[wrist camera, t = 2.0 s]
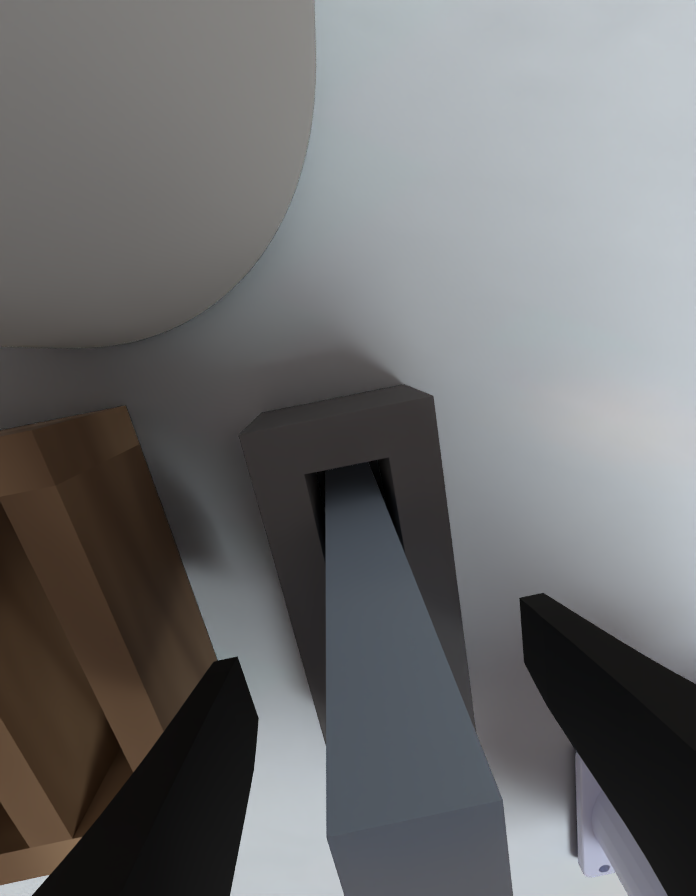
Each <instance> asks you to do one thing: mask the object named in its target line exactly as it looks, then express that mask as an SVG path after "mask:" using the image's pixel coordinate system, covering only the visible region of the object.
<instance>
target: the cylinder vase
mask: <svg viewBox="0 0 696 896" xmlns="http://www.w3.org/2000/svg"><path fill="white" fill-rule="evenodd" d="M315 84H316V37H315V3H314V0H0V347H30V348H96V347H106V346H114V345H120V344H125V343H130V342H134V341H138V340H142V339H145V338H149V337H152V336H155V335H158V334H161V333H163V332H166V331H168V330H171V329H173V328H175V327H177V326H179V325H181V324H183V323H185V322H187V321H189V320H191V319H193V318H194V317H196V316H198V315H199V314H201V313H202V312H204V311H205V310H207V309H208V308H210V307H211V306H212V305H214V304H215V303H216V302H218V301H219V300H220V299H221V298H223V297H224V296H225V295H226V294H227V293H228V292H229V291H231V290H232V289H233V288H234V287H235V286H236V285H237V284H238V283H239V282H240V281H241V280H242V279H243V278H244V276H245V275H246V274H247V273H248V272H249V271H250V270H251V268H252V267H253V266H254V265H255V263H256V262H257V261H258V259H259V258H260V257H261V255H262V254H263V253H264V251H265V250H266V248H267V247H268V245H269V243H270V242H271V240H272V239H273V237H274V235H275V233H276V232H277V230H278V228H279V226H280V224H281V222H282V220H283V218H284V216H285V214H286V212H287V210H288V207H289V205H290V203H291V200H292V198H293V195H294V193H295V190H296V187H297V184H298V181H299V178H300V175H301V171H302V168H303V164H304V160H305V156H306V152H307V147H308V143H309V137H310V132H311V125H312V118H313V110H314V100H315Z"/></svg>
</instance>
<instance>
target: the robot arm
mask: <svg viewBox="0 0 696 896" xmlns="http://www.w3.org/2000/svg"><path fill="white" fill-rule="evenodd" d="M519 599H520V612H521V626H522V640H523V653H524V663H525V665H526V667H527V669H528V671H529V673H530V675H531V677H532V679H533V680H534V682H535V684H536V686H537V688H538V690H539V692H540V694H541V696H542V697H543V699H544V701H545V703H546V705H547V707H548V708H549V710H550V711H551V713H552V714H553V716H554V718H555V719H556V721H557V722H558V724H559V725H560V727H561V728H562V730H563V731H564V733H565V734H566V736H567V737H568V739H569V740H570V742H571V744H572V745H573V747H574V748H575V750H576V755H575V766H576V801H577V836H578V863H579V866H580V868H581V870H582V872H583V874H584V875H585V876H587V877H597V876H601V875H606V874H610V873H615V872H616V874H617V876H618V878H619V880H620V881H621V883H622V885H623V887H624V889H625V890H626V892H627V894H628V896H696V684H694V683H693V682H691V681H689V680H687V679H685V678H684V677H682V676H680V675H678V674H676V673H674V672H673V671H671V670H669V669H667V668H665V667H664V666H662V665H660V664H659V663H657V662H655V661H653V660H652V659H650V658H648V657H646V656H645V655H643V654H641V653H640V652H638V651H636V650H634V649H633V648H631V647H629V646H628V645H626V644H624V643H623V642H621V641H619V640H618V639H616V638H615V637H613V636H611V635H610V634H608V633H606V632H605V631H603V630H602V629H600V628H598V627H597V626H595V625H594V624H592V623H590V622H589V621H587V620H586V619H584V618H582V617H581V616H579V615H578V614H576V613H574V612H573V611H571V610H570V609H568V608H567V607H565V606H563V605H562V604H560V603H559V602H557V601H555V600H554V599H552V598H551V597H549V596H547V595H546V594H544V593H541V594H536V595H531V596H526V597H522V598H519ZM258 719H259V718H258V715H257V712H256V709H255V706H254V704H253V701H252V698H251V695H250V692H249V689H248V686H247V683H246V680H245V677H244V674H243V671H242V668H241V665H240V662H239V659H238V657H233V658H228V659H224V660H219V661H214V662H213V663H212V664H211V666H210V667H209V669H208V670H207V671H206V673H205V674H204V676H203V677H202V678H201V680H200V681H199V683H198V684H197V685H196V687H195V688H194V690H193V691H192V692H191V694H190V695H189V697H188V698H187V700H186V701H185V702H184V704H183V705H182V707H181V708H180V709H179V711H178V712H177V714H176V715H175V716H174V718H173V719H172V721H171V722H170V723H169V725H168V726H167V728H166V729H165V730H164V732H163V733H162V734H161V736H160V737H159V739H158V740H157V741H156V743H155V744H154V745H153V747H152V748H151V750H150V751H149V752H148V754H147V755H146V756H145V758H144V759H143V760H142V762H141V763H140V764H139V766H138V767H137V768H136V770H135V771H134V772H133V773H132V775H131V776H130V777H129V779H128V780H127V781H126V782H125V784H124V785H123V786H122V788H121V789H120V790H119V792H118V793H117V794H116V795H115V797H114V798H113V799H112V801H111V802H110V803H109V804H108V806H107V807H106V808H105V810H104V811H103V812H102V813H101V815H100V816H99V817H98V818H97V820H96V821H95V822H94V823H93V825H92V826H91V827H90V828H89V829H88V831H87V832H86V833H85V834H84V836H83V837H82V838H81V839H80V840H79V842H78V843H77V844H76V845H75V846H74V848H73V849H72V850H71V851H70V852H69V853H68V855H67V856H66V857H65V858H64V859H63V860H62V862H61V863H60V864H59V865H58V866H57V867H56V868H55V870H54V871H53V872H52V873H51V874H50V875H49V877H48V878H47V879H46V880H45V881H44V882H43V884H42V885H41V886H40V887H39V888H38V889H37V890H36V892H35V893H34V894H33V895H32V896H230V892H231V887H232V882H233V877H234V871H235V866H236V861H237V856H238V851H239V846H240V840H241V835H242V830H243V825H244V820H245V815H246V809H247V804H248V799H249V793H250V788H251V783H252V777H253V771H254V763H255V753H256V743H257V731H258Z"/></svg>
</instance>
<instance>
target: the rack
mask: <svg viewBox="0 0 696 896" xmlns="http://www.w3.org/2000/svg"><path fill="white" fill-rule="evenodd" d="M214 661H217V658H216V655H215V652H214V649H213V647H212V644H211V641H210V638H209V636H208V633H207V630H206V627H205V624H204V622H203V619H202V616H201V613H200V611H199V608H198V605H197V602H196V599H195V597H194V594H193V591H192V588H191V586H190V583H189V580H188V577H187V574H186V572H185V569H184V566H183V563H182V561H181V558H180V555H179V552H178V549H177V547H176V544H175V541H174V538H173V536H172V533H171V530H170V527H169V524H168V522H167V519H166V516H165V513H164V511H163V508H162V505H161V502H160V499H159V497H158V494H157V491H156V488H155V486H154V483H153V480H152V477H151V474H150V472H149V469H148V466H147V463H146V461H145V458H144V455H143V452H142V449H141V447H140V444H139V441H138V438H137V436H136V433H135V430H134V427H133V424H132V422H131V419H130V416H129V413H128V411H127V408H126V405H125V406H120V407H115V408H110V409H105V410H100V411H95V412H90V413H85V414H79V415H74V416H69V417H64V418H59V419H54V420H49V421H44V422H39V423H34V424H29V425H24V426H19V427H14V428H9V429H4V430H0V885H4V884H8V883H13V882H18V881H22V880H27V879H32V878H36V877H41V876H46V875H50V874H51V873H52V872H53V871H54V870H55V868H56V867H57V866H58V865H59V864H60V863H61V862H62V860H63V859H64V858H65V857H66V856H67V855H68V853H69V852H70V851H71V850H72V849H73V848H74V846H75V845H76V844H77V843H78V842H79V840H80V839H81V838H82V837H83V836H84V834H85V833H86V832H87V831H88V829H89V828H90V827H91V826H92V825H93V823H94V822H95V821H96V820H97V818H98V817H99V816H100V815H101V813H102V812H103V811H104V810H105V808H106V807H107V806H108V804H109V803H110V802H111V801H112V799H113V798H114V797H115V795H116V794H117V793H118V792H119V790H120V789H121V788H122V786H123V785H124V784H125V782H126V781H127V780H128V779H129V777H130V776H131V775H132V773H133V772H134V771H135V770H136V768H137V767H138V766H139V764H140V763H141V762H142V760H143V759H144V758H145V756H146V755H147V754H148V752H149V751H150V750H151V748H152V747H153V745H154V744H155V743H156V741H157V740H158V739H159V737H160V736H161V734H162V733H163V732H164V730H165V729H166V728H167V726H168V725H169V723H170V722H171V721H172V719H173V718H174V716H175V715H176V714H177V712H178V711H179V709H180V708H181V707H182V705H183V704H184V702H185V701H186V700H187V698H188V697H189V695H190V694H191V692H192V691H193V690H194V688H195V687H196V685H197V684H198V683H199V681H200V680H201V678H202V677H203V676H204V674H205V673H206V671H207V670H208V669H209V667H210V666H211V664H212V663H213V662H214Z"/></svg>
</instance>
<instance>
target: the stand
mask: <svg viewBox="0 0 696 896" xmlns="http://www.w3.org/2000/svg"><path fill="white" fill-rule="evenodd" d="M239 438H240V442H241V445H242V449H243V452H244V456H245V460H246V463H247V467H248V470H249V474H250V477H251V481H252V484H253V488H254V492H255V495H256V499H257V502H258V506H259V509H260V513H261V516H262V520H263V524H264V527H265V531H266V534H267V538H268V541H269V545H270V548H271V552H272V556H273V559H274V563H275V566H276V570H277V573H278V577H279V580H280V584H281V588H282V591H283V595H284V598H285V602H286V605H287V609H288V612H289V616H290V620H291V623H292V627H293V630H294V634H295V637H296V641H297V644H298V648H299V652H300V655H301V659H302V662H303V666H304V669H305V673H306V676H307V680H308V684H309V687H310V691H311V694H312V698H313V701H314V705H315V709H316V712H317V716H318V719H319V723H320V726H321V730H322V733H323V737H324V741H325V744H326V524H325V510H324V505H323V501H322V496H321V492H320V488H319V483H318V479H317V475H316V472H319V471H324V470H329V469H334V468H338V467H343V466H348V465H353V464H358V463H363V462H368V461H373V460H378V465H379V471H380V477H381V482H382V488H383V493H384V499H385V505H386V508H387V510H388V513H389V515H390V518H391V520H392V523H393V525H394V528H395V530H396V533H397V535H398V538H399V540H400V543H401V545H402V548H403V550H404V553H405V555H406V558H407V560H408V563H409V566H410V568H411V571H412V573H413V576H414V578H415V581H416V583H417V586H418V588H419V591H420V593H421V596H422V598H423V601H424V603H425V606H426V608H427V611H428V613H429V616H430V618H431V621H432V623H433V626H434V628H435V631H436V633H437V636H438V638H439V641H440V643H441V646H442V649H443V651H444V654H445V656H446V659H447V661H448V664H449V666H450V669H451V671H452V674H453V676H454V679H455V681H456V684H457V686H458V689H459V691H460V694H461V696H462V699H463V701H464V704H465V706H466V709H467V711H468V714H469V716H470V719H471V721H472V724H473V727H474V729H475V732H476V728H475V720H474V712H473V704H472V696H471V688H470V681H469V673H468V665H467V657H466V649H465V641H464V633H463V626H462V618H461V610H460V602H459V594H458V586H457V578H456V570H455V563H454V555H453V547H452V539H451V531H450V523H449V515H448V507H447V500H446V492H445V484H444V476H443V468H442V460H441V452H440V445H439V437H438V429H437V421H436V413H435V405H434V397H433V396H432V395H430V394H427V393H425V392H422V391H420V390H417V389H415V388H412V387H410V386H407V385H405V384H404V385H399V386H394V387H389V388H384V389H379V390H374V391H369V392H364V393H359V394H354V395H349V396H344V397H339V398H334V399H329V400H324V401H319V402H314V403H309V404H304V405H299V406H294V407H289V408H284V409H279V410H274V411H269V412H264V413H261V414H260V415H259V416H258V417H257V418H256V419H255V420H254V421H253V422H252V423H251V424H250V425H248V426H247V427H246V428H245V429H244V430H243V431H242V432H241V433H240V434H239Z"/></svg>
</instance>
